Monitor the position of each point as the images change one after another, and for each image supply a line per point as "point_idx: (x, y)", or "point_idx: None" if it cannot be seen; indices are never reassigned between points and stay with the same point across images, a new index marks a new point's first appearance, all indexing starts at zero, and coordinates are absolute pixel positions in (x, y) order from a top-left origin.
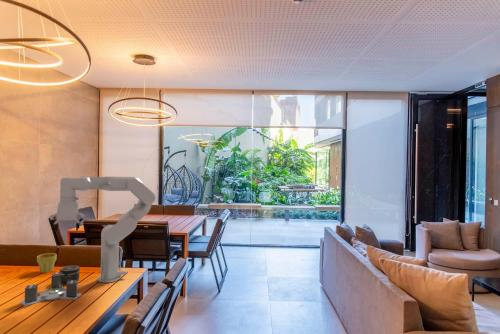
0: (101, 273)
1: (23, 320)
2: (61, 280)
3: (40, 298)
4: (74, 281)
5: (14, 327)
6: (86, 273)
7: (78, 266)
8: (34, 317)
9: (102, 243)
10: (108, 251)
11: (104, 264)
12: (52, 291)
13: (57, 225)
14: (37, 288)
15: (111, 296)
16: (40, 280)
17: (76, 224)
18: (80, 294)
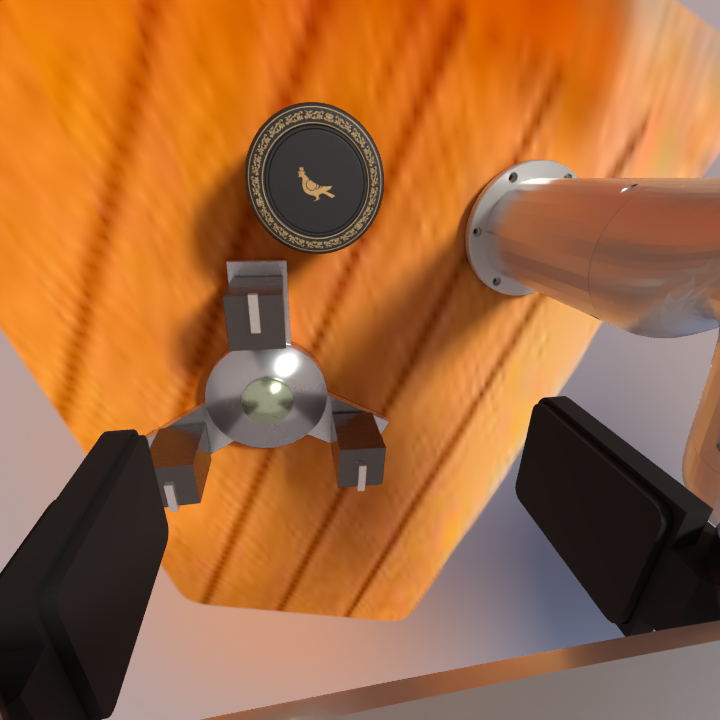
0: (502, 260)
1: (221, 565)
2: (284, 311)
3: (222, 433)
4: (372, 464)
5: (212, 596)
6: (407, 30)
7: (377, 160)
8: (250, 552)
9: (676, 302)
10: (645, 336)
11: (550, 296)
12: (264, 411)
13: (113, 687)
14: (197, 453)
15: (492, 450)
16: (97, 76)
17: (604, 607)
18: (384, 427)
